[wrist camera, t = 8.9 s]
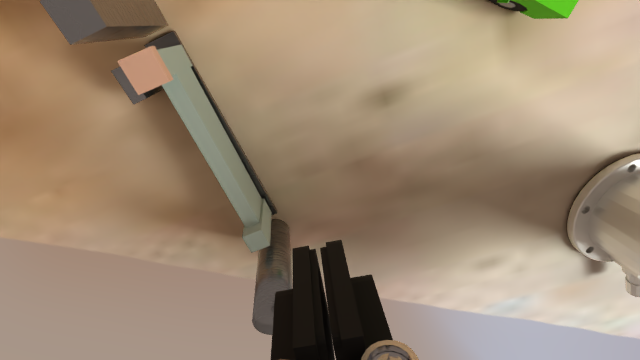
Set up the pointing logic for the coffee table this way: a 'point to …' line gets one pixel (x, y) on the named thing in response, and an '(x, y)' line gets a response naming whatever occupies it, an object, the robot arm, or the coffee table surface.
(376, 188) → the coffee table surface
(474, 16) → the coffee table surface
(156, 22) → the gate posts
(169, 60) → the gate
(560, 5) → the green toy car
